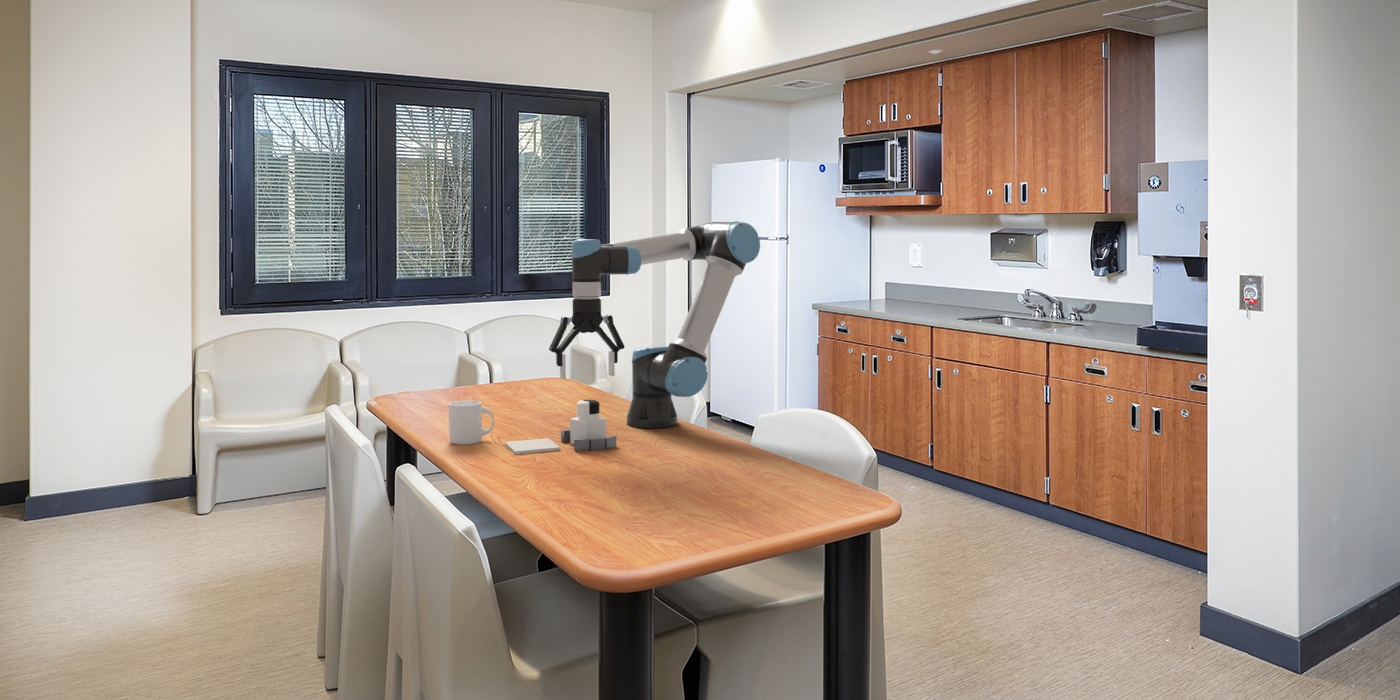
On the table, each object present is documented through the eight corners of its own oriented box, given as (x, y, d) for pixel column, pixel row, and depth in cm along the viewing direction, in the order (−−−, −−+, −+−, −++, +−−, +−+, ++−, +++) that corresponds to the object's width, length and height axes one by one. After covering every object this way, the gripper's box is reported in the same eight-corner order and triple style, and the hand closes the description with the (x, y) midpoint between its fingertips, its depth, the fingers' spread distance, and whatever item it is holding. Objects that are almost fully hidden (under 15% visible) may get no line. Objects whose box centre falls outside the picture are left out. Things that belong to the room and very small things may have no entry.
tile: (548, 441, 264) (547, 438, 264) (560, 450, 253) (560, 447, 253) (504, 444, 259) (504, 441, 259) (515, 454, 248) (515, 451, 248)
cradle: (599, 436, 270) (599, 425, 270) (619, 448, 255) (619, 437, 255) (559, 439, 265) (558, 429, 265) (576, 452, 250) (576, 441, 250)
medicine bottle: (590, 440, 265) (590, 397, 264) (607, 444, 260) (606, 400, 259) (569, 444, 260) (569, 400, 259) (586, 448, 255) (585, 403, 254)
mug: (496, 442, 261) (496, 404, 260) (451, 446, 257) (450, 406, 256) (492, 436, 269) (491, 398, 268) (448, 439, 265) (447, 401, 264)
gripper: (626, 295, 264) (626, 372, 266) (537, 297, 254) (538, 377, 256) (635, 297, 257) (636, 376, 260) (544, 299, 247) (545, 381, 249)
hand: (587, 376), depth 258 cm, fingers open, 13 cm apart
